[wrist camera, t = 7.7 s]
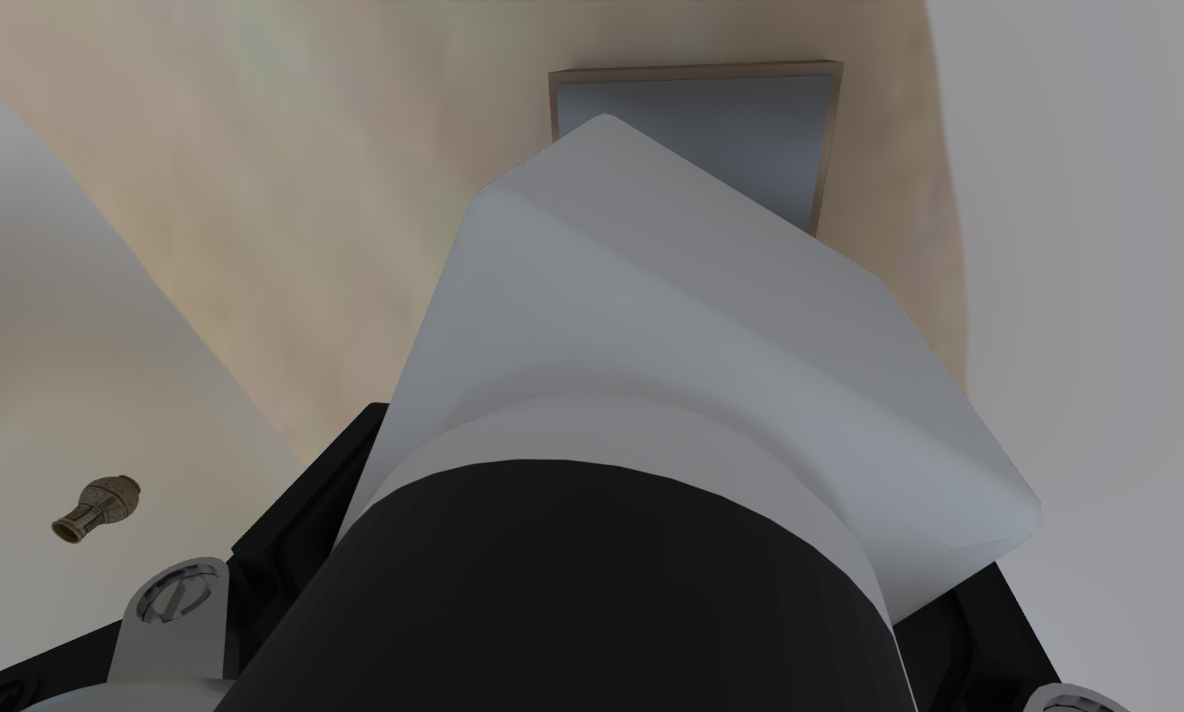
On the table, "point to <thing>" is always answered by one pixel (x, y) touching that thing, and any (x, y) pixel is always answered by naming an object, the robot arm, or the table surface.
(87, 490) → the brown patterned vase
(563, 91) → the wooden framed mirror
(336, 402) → the table surface
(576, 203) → the medicine bottle
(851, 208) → the table surface
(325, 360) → the table surface
